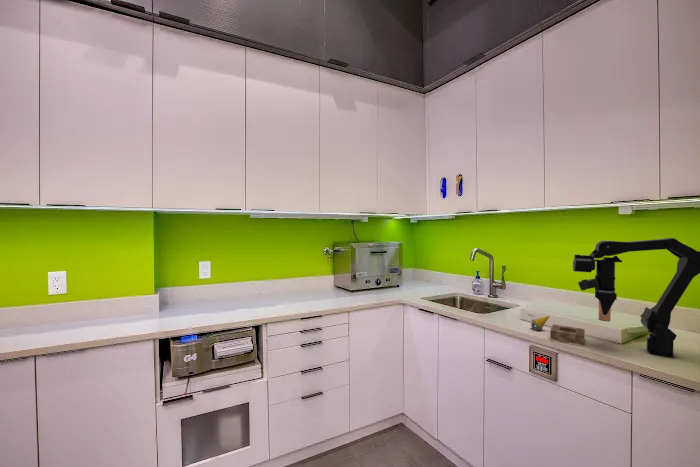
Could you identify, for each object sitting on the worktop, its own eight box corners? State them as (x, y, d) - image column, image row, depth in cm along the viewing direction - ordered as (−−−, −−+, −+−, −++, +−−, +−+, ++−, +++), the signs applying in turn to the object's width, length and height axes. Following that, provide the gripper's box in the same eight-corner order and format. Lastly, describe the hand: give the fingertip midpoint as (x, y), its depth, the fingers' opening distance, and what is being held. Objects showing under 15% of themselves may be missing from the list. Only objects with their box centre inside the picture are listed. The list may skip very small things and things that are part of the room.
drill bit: (531, 328, 150) (549, 314, 147) (537, 336, 145) (556, 323, 142) (524, 322, 148) (542, 308, 145) (530, 330, 144) (549, 316, 141)
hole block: (584, 338, 134) (584, 329, 134) (583, 346, 125) (583, 336, 125) (553, 333, 141) (553, 324, 141) (550, 340, 132) (550, 330, 132)
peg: (610, 320, 126) (610, 296, 126) (610, 322, 123) (611, 298, 123) (598, 318, 128) (599, 295, 128) (598, 320, 125) (599, 297, 125)
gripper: (580, 269, 138) (579, 306, 138) (578, 273, 123) (578, 315, 123) (614, 271, 131) (613, 310, 131) (617, 276, 116) (616, 320, 116)
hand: (604, 313), depth 126 cm, fingers closed on peg, 4 cm apart
